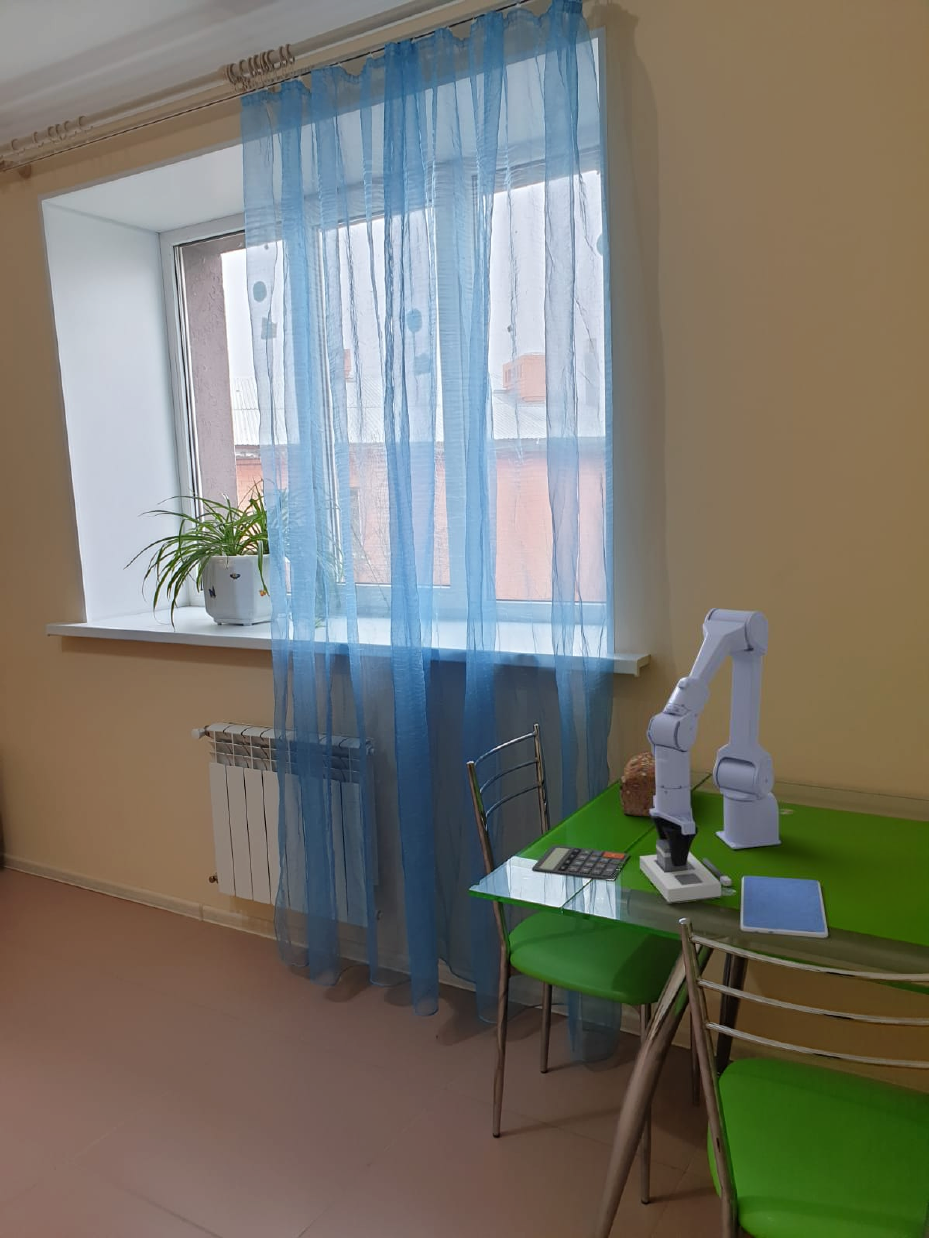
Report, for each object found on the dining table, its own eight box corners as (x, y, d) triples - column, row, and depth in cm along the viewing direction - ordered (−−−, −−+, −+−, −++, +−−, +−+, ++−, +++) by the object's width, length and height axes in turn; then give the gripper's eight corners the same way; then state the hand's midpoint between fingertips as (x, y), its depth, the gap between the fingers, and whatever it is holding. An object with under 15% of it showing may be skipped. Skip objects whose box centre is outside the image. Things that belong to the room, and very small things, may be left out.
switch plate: (688, 864, 170) (688, 850, 169) (721, 898, 156) (721, 882, 156) (640, 870, 169) (639, 855, 168) (668, 904, 155) (668, 888, 155)
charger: (679, 864, 166) (678, 837, 166) (688, 874, 162) (687, 846, 162) (656, 867, 166) (656, 840, 165) (664, 877, 162) (664, 849, 161)
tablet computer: (828, 941, 142) (828, 933, 141) (740, 934, 145) (739, 926, 145) (819, 886, 160) (819, 879, 160) (741, 881, 163) (741, 874, 163)
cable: (707, 861, 171) (707, 856, 171) (731, 885, 161) (731, 880, 161) (700, 862, 171) (700, 857, 171) (724, 885, 161) (724, 880, 160)
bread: (670, 820, 192) (669, 772, 191) (617, 816, 196) (616, 769, 195) (683, 790, 210) (682, 746, 208) (634, 787, 213) (633, 743, 212)
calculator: (613, 878, 165) (531, 867, 171) (613, 883, 165) (531, 872, 171) (630, 852, 175) (552, 843, 182) (630, 857, 176) (552, 848, 182)
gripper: (636, 773, 168) (638, 846, 170) (665, 799, 154) (666, 879, 156) (674, 769, 169) (675, 842, 171) (706, 795, 155) (708, 874, 157)
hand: (674, 859), depth 164 cm, fingers closed on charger, 4 cm apart
